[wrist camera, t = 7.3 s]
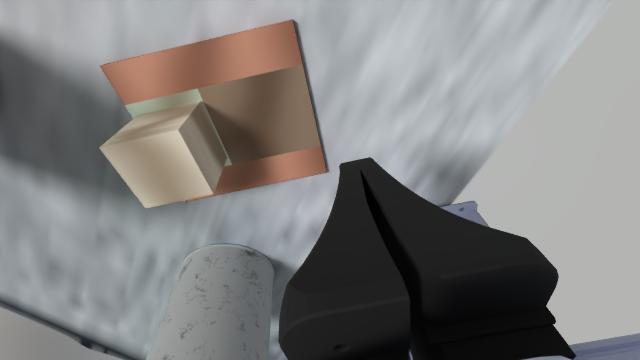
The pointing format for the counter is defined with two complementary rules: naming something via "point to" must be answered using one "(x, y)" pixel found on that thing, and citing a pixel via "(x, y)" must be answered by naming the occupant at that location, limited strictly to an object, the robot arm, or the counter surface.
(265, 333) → the grey marbled cylinder
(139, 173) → the birch block
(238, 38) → the board
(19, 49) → the counter surface
